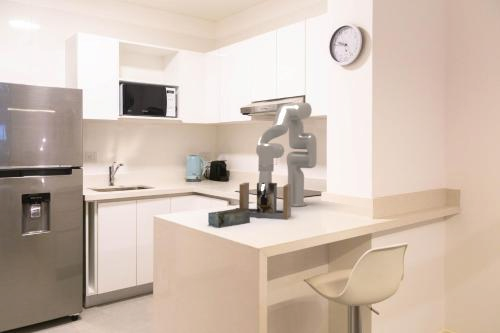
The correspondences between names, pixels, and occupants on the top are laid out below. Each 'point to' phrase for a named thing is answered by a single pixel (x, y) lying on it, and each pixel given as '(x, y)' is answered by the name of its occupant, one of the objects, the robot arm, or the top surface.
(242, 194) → the wooden book rack
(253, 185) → the top surface
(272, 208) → the coffee box
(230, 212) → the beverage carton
